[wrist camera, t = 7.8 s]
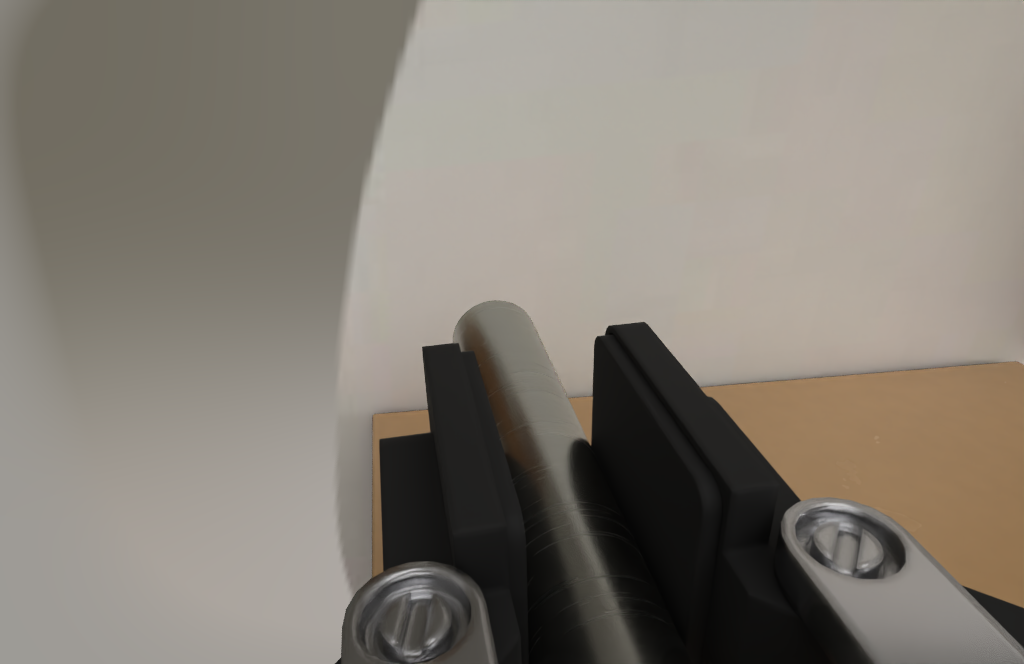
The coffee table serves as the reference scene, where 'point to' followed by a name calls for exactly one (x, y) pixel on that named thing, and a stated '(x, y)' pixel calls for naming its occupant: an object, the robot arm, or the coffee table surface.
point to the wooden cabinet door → (786, 446)
